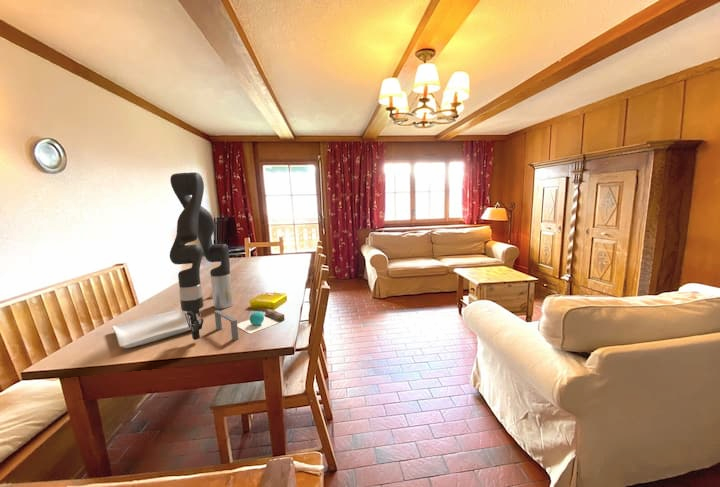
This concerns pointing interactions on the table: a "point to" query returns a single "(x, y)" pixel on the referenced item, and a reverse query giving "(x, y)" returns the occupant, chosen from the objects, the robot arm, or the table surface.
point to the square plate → (151, 328)
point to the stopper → (274, 314)
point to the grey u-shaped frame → (233, 321)
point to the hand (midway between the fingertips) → (196, 338)
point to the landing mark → (254, 328)
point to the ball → (256, 318)
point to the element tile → (268, 300)
